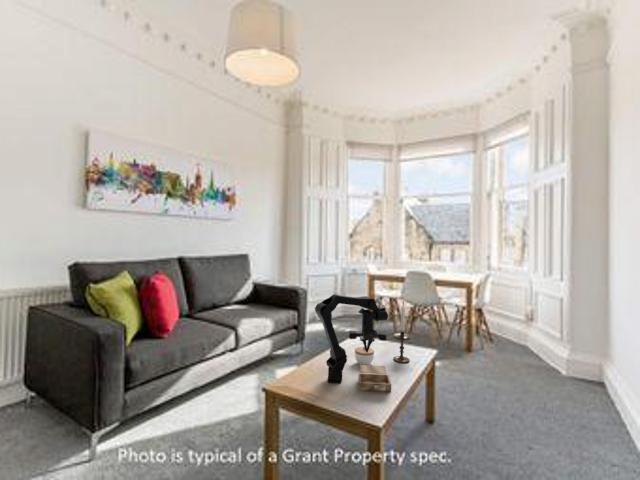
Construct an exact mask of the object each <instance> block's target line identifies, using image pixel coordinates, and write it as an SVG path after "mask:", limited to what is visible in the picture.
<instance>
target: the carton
mask: <svg viewBox="0 0 640 480" xmlns="http://www.w3.org/2000/svg"><path fill="white" fill-rule="evenodd" d="M357 377H358V389H359V391H361V392H363V391H365V392H379V393H380V392H383V393H391V392H392V382H391V379H390V376H389V374H376V373H361V372H359V373H358V376H357ZM362 382H367V383H386V384H391V385H386V384H367V383H362Z"/></svg>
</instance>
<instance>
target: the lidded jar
mask: <svg viewBox="0 0 640 480" xmlns="http://www.w3.org/2000/svg"><path fill="white" fill-rule="evenodd" d="M374 354H375V350H374V349H373V348H372V347H371V348H370V347H369V350H368V352H366V350H365V347H364V346H359V347H355V349H354V357H355V360H356V362H357V364H358V365H359V366H360V365H370V364H372V362H373V360H374V358H375V357H374V356H375V355H374Z"/></svg>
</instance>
